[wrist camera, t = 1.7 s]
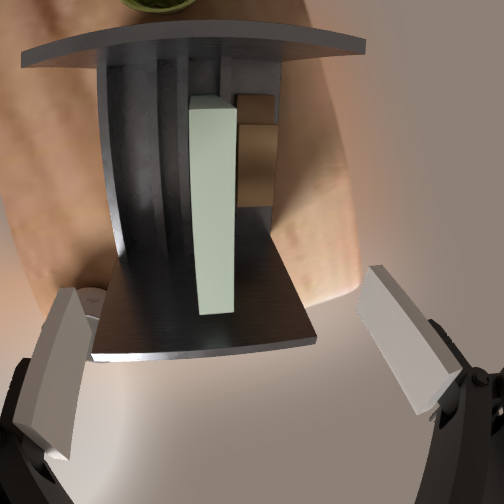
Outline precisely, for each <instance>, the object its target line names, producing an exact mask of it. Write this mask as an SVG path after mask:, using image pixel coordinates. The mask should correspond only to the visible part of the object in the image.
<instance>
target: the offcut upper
mask: <svg viewBox="0 0 504 504" xmlns="http://www.w3.org/2000/svg"><path fill="white" fill-rule="evenodd" d="M278 132H279V125H277V124H275V123H267V122H237V130H236V172H235V202H236V205H237V207H256V206H273V204H274V190H275V176H276V162H277V147H278Z"/></svg>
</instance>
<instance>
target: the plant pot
mask: <svg viewBox="0 0 504 504" xmlns="http://www.w3.org/2000/svg"><path fill="white" fill-rule="evenodd" d="M120 1H121V2H122V3H124V4H125V5H126V6H128V7H130V8H132V9H135V10H138V11H142V12H148V13H158V14H172V13H176V12H178V11H181V10H183V9H185V8H186V7H187V6H188V5H190V4H191V3H193V2H195V1H196V0H187V1H186V2H184V0H120ZM155 5H156V6H159V7H162V8H164V9H156V8H155V7H154V6H155Z"/></svg>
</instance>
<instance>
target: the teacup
mask: <svg viewBox="0 0 504 504" xmlns="http://www.w3.org/2000/svg"><path fill="white" fill-rule="evenodd" d="M76 292H77V294H78V297H79V300H80V303H81V305H82V308H83V311H84V313H85V316H86V319H87V321H88V324H89V326H90V329H91V331H92V336H91V340H90V344H89V348H88V352H87V357H86V361H88V362H93V363H108V362H112V361H94V359H93V357H92V355H91V352H92V347H93V343H94V339H95V335H96V330H97V326H98V322H99V318H100V315H101V311H102V307H103V303H104V300H105V296H106V293H107V291H105V290H103V289H100V288H94V287H86V288H81V289H78V290H76ZM44 323H45V322H44ZM43 326H44V324H43ZM43 326H42V328H43Z"/></svg>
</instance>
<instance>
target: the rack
mask: <svg viewBox="0 0 504 504" xmlns="http://www.w3.org/2000/svg"><path fill="white" fill-rule="evenodd" d="M365 46H366V39H363V38H359V37H355V36H350V35H346V34H341V33H336V32H332V31H327V30H321V29H316V28H309V27H303V26H296V25H288V24H280V23H270V22H258V21H242V20H183V21H167V22H155V23H146V24H137V25H130V26H123V27H117V28H111V29H105V30H100V31H95V32H90V33H86V34H81V35H77V36H73V37H69V38H65V39H61V40H58V41H54V42H51V43H47V44H44V45H41V46H38V47H35V48H32V49H29V50H26V51H23V52H21V68H35V67H72V68H95V69H97V96H98V115H99V129H100V141H101V151H102V160H103V168H104V176H105V184H106V191H107V197H108V204H109V210H110V216H111V221H112V227H113V232H114V237H115V242H116V247H117V252H118V257H117V260H116V263H115V266H114V269H113V272H112V276H111V279H110V282H109V286H108V289H107V293H106V296H105V300H104V303H103V307H102V311H101V315H100V318H99V322H98V326H97V330H96V335H95V339H94V343H93V347H92V352H91V355H92V357H93V359H94V361H149V360H173V359H189V358H203V357H216V356H226V355H237V354H246V353H255V352H263V351H271V350H279V349H286V348H292V347H300V346H306V345H312V344H315V343H316V339H317V335H316V333H315V330H314V328H313V326H312V324H311V322H310V319H309V317H308V315H307V313H306V311H305V309H304V306H303V304H302V302H301V300H300V298H299V296H298V293H297V291H296V289H295V287H294V285H293V283H292V280H291V278H290V276H289V274H288V272H287V270H286V268H285V266H284V263H283V261H282V259H281V257H280V255H279V253H278V251H277V249H276V247H275V244H274V242H273V240H272V238H271V236H270V231H271V218H272V206H256V207H237V205H236V202H235V220H234V312H230V313H218V314H205V315H200V314H199V303H198V292H197V280H196V268H195V254H194V240H193V223H192V204H191V181H190V148H189V106H190V99H191V95H194V94H215V95H217V96H218V97H220V98H221V99H223V100H225V101H226V102H228V103H229V104H231V105H232V106H234V107H235V94H262V95H274V96H275V114H274V123H275V124H277V125H278V115H279V98H280V80H281V62H286V61H293V60H300V59H309V58H318V57H329V56H343V55H363V54H365V48H366V47H365Z"/></svg>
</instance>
